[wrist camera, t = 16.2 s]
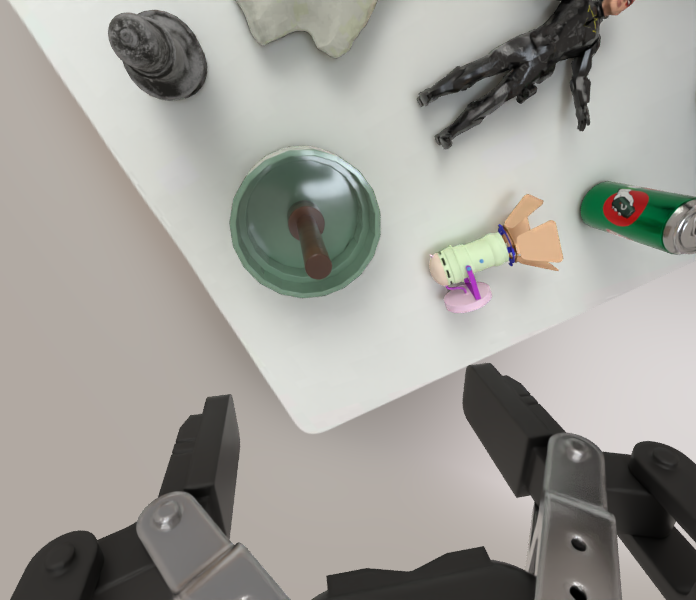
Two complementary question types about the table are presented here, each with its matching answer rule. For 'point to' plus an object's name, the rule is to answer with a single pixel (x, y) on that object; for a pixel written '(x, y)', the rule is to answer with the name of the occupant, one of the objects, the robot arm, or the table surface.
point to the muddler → (310, 237)
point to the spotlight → (495, 256)
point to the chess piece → (159, 53)
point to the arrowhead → (309, 21)
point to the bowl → (272, 224)
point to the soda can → (643, 216)
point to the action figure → (531, 64)
